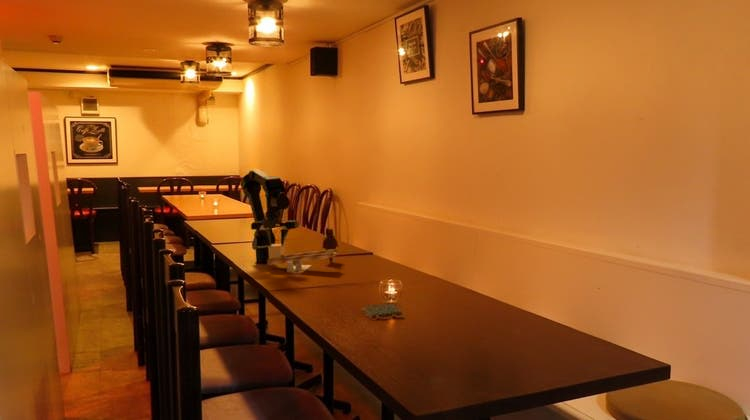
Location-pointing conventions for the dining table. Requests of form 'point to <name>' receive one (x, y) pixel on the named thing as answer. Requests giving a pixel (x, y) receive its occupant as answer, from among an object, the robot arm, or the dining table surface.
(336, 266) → the dining table surface
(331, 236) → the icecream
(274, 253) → the tan block
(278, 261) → the beam
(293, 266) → the stand
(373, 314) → the woven mat
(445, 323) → the dining table surface
